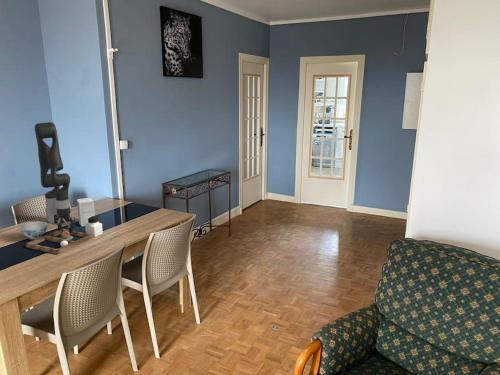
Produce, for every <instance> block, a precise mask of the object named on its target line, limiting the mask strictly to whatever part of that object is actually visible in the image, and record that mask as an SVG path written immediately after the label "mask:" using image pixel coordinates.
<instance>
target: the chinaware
mask: <svg viewBox="0 0 500 375" xmlns="http://www.w3.org/2000/svg"><path fill="white" fill-rule="evenodd" d="M48 223H49V222H48V221H38V220H37V221H32V222H31V221H30V222H26V223H23V224H22V225H20V226H19V231H20V232H21V234H22V235H23V236H24V237H26V238H28V239H29V240H35V239H38V238H40V237H43V236H44V234H45V233H46V232H47V230H48V226H49V224H48Z"/></svg>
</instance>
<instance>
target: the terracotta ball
mask: <svg viewBox="0 0 500 375" xmlns="http://www.w3.org/2000/svg"><path fill="white" fill-rule="evenodd" d="M69 236H71V235H70V234H69V232H68V231H64V232H62V234H61V237H63V238H68V237H69Z"/></svg>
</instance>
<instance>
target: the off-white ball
mask: <svg viewBox="0 0 500 375" xmlns="http://www.w3.org/2000/svg"><path fill="white" fill-rule="evenodd" d="M59 244H60V246H61V247H63V246H66V245H68V242H67V241H65V240H64V241H62V242H61V243H59ZM61 247H60V248H61Z"/></svg>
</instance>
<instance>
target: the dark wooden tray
mask: <svg viewBox="0 0 500 375" xmlns="http://www.w3.org/2000/svg"><path fill="white" fill-rule="evenodd" d="M64 231H68V232H69V229H66V228H62V230H61V231H58V230H55V231H53V232H50V233H48V234H46V235H42V237H40V238H38V239H32V240H30V241H28V242H25V243H24V244H25V248H28V249H32V250H36V251H42V252H45V253H50V254H54V255H59V254H61V253H64V252H66V251H68V250H70V249H73V248H74V247H76V246H78V245H81V244H83V243H85V242H88V241H90V240H91V239H93V237H92V234H87V233H86V232H82V231H77V230H73V233H69V234H70V235H69V236H73V237H74V236H75V237H78V238H79V237H80V238H79V239H77V240H72V239H71V240H66V239H61V238H60V237H57V236H58V235H59V236H60V235H62V232H64ZM64 240H65V241H67V242H68V245H66V246H63V247H59V248H55V247H49V246H45V245H40V244H41V243H42V242H45V241H48V242H53V243H54V242H55V243H57V244H60V243H61V242H62V241H64Z"/></svg>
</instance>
